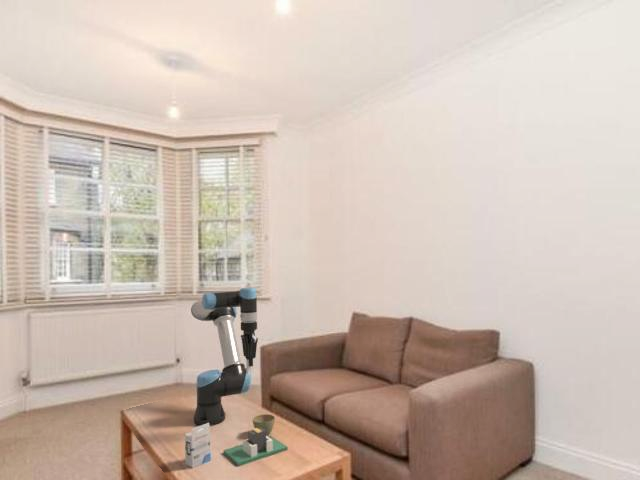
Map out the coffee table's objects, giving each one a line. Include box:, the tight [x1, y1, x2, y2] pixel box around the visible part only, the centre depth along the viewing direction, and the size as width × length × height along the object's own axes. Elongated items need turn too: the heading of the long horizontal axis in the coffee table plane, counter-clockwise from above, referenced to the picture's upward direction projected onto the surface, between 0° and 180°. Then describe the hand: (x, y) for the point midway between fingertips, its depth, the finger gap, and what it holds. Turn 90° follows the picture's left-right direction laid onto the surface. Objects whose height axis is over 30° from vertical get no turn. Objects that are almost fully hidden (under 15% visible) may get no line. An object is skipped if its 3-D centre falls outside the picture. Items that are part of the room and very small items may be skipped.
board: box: [223, 435, 289, 467], centre depth 176 cm, size 14×22×5 cm, turn 126°
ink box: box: [184, 423, 211, 469], centre depth 168 cm, size 8×5×15 cm, turn 140°
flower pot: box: [252, 413, 276, 437], centre depth 193 cm, size 10×10×7 cm
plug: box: [247, 428, 266, 453], centre depth 174 cm, size 4×6×8 cm, turn 127°
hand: (249, 372), depth 198 cm, fingers closed
